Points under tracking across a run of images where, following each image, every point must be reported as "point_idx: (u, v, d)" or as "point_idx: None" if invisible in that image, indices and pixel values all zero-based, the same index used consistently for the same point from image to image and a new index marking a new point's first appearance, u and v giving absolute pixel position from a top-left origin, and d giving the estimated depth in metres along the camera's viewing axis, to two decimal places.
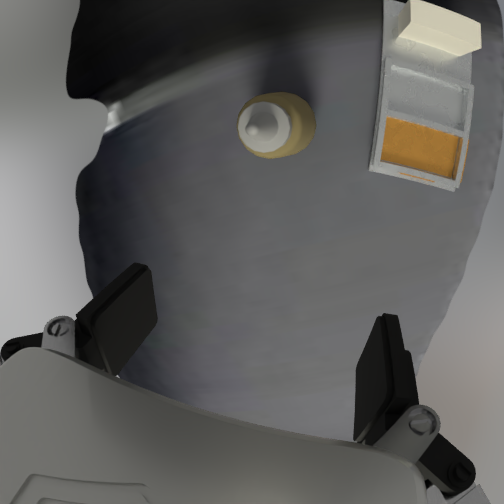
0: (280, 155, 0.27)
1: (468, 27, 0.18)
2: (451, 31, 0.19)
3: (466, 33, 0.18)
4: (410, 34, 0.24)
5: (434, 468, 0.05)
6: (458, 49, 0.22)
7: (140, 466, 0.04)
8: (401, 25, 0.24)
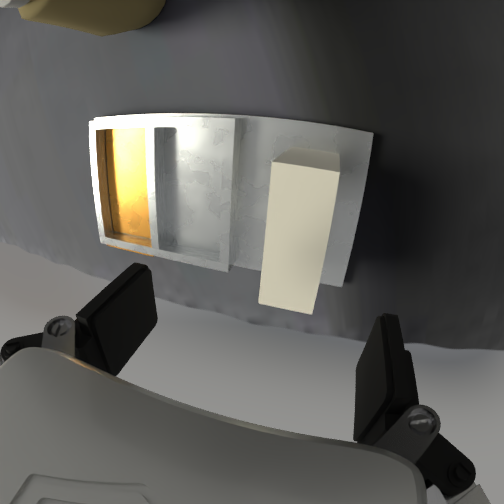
0: (18, 8, 0.09)
1: (294, 287, 0.18)
2: (272, 249, 0.17)
3: (279, 280, 0.18)
4: None
5: (434, 468, 0.05)
6: None
7: (140, 466, 0.04)
8: (304, 152, 0.19)
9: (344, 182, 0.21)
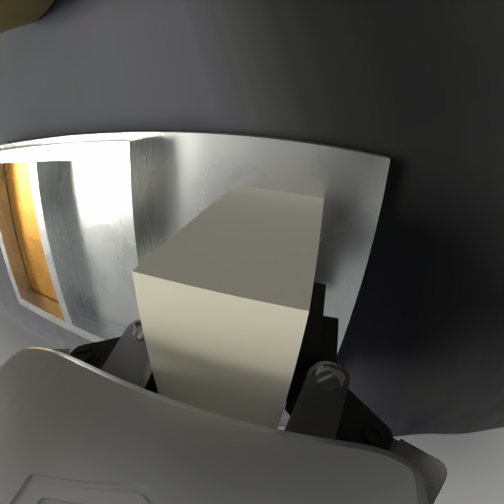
0: None
1: None
2: None
3: None
4: None
5: (342, 427, 0.06)
6: None
7: (140, 466, 0.04)
8: (251, 203, 0.10)
9: (332, 249, 0.12)
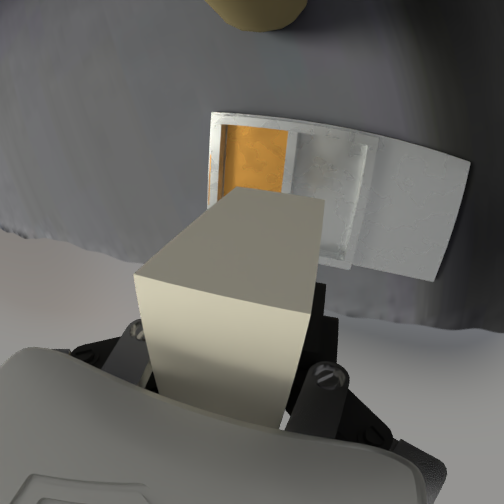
0: None
1: None
2: None
3: None
4: None
5: (342, 427, 0.06)
6: None
7: (140, 466, 0.04)
8: (252, 205, 0.10)
9: (447, 198, 0.23)
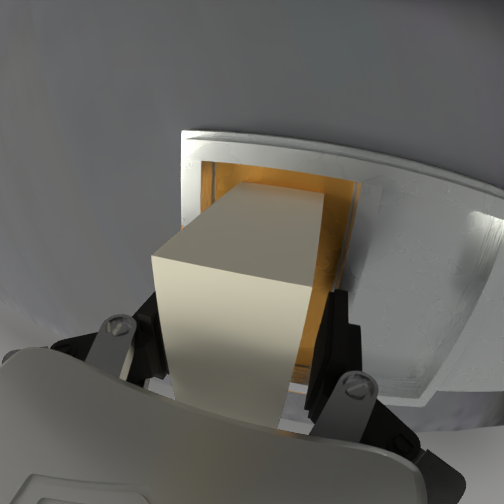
0: None
1: None
2: (188, 396, 0.09)
3: None
4: None
5: (372, 436, 0.06)
6: None
7: (140, 466, 0.04)
8: (256, 197, 0.11)
9: None
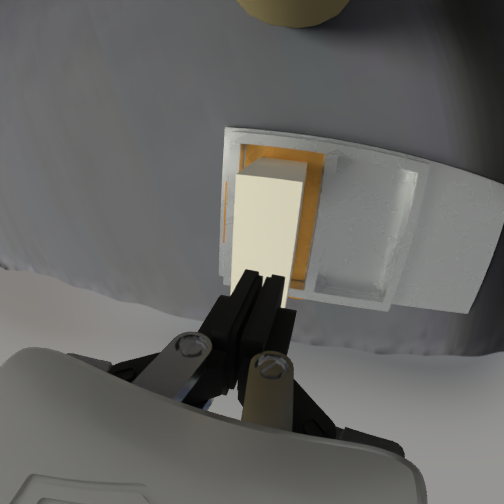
0: None
1: None
2: (240, 259, 0.18)
3: None
4: None
5: None
6: None
7: (140, 466, 0.04)
8: (271, 162, 0.20)
9: (489, 227, 0.19)
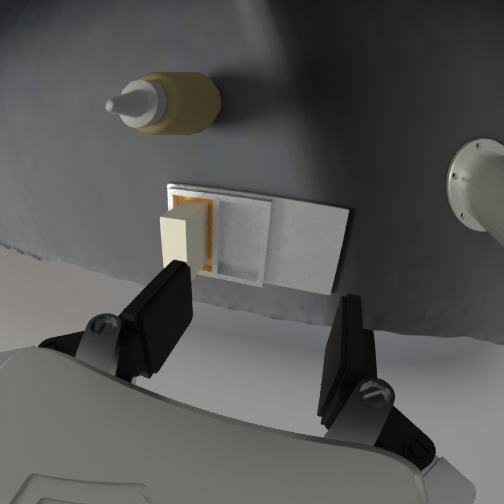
0: None
1: None
2: (166, 254, 0.37)
3: None
4: None
5: (389, 442, 0.06)
6: None
7: (140, 466, 0.04)
8: (186, 205, 0.39)
9: (331, 237, 0.38)
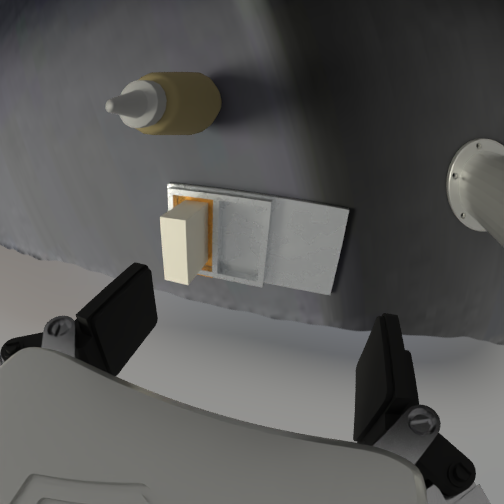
0: None
1: (177, 271, 0.38)
2: (166, 254, 0.37)
3: (171, 268, 0.38)
4: None
5: (434, 468, 0.05)
6: None
7: (140, 466, 0.04)
8: (186, 205, 0.39)
9: (331, 237, 0.38)
